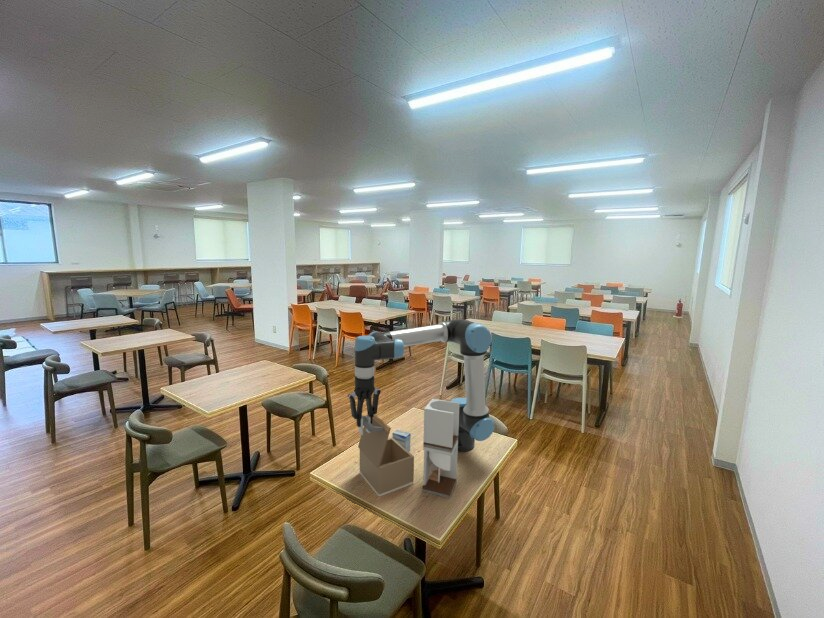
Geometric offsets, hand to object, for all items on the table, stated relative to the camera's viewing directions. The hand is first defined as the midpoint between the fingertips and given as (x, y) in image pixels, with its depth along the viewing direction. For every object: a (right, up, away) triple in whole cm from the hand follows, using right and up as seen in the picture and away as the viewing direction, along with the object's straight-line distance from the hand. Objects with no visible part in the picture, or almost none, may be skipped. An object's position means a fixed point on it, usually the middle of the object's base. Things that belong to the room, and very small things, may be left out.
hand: (364, 432), depth 143 cm
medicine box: (+14, -19, +31) cm, 39 cm away
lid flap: (+4, -3, +3) cm, 6 cm away
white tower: (+30, -24, +4) cm, 39 cm away
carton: (+8, -22, +9) cm, 25 cm away
